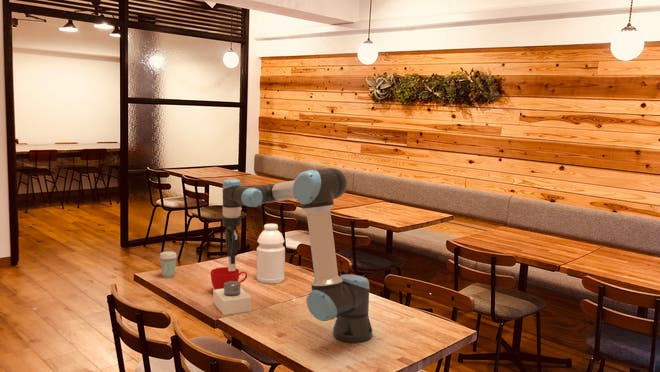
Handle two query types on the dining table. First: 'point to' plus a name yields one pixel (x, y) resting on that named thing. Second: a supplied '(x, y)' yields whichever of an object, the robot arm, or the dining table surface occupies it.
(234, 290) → the pin
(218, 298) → the block
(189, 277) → the dining table surface
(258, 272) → the bottle
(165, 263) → the coffee cup
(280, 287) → the dining table surface
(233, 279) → the ceramic cup
